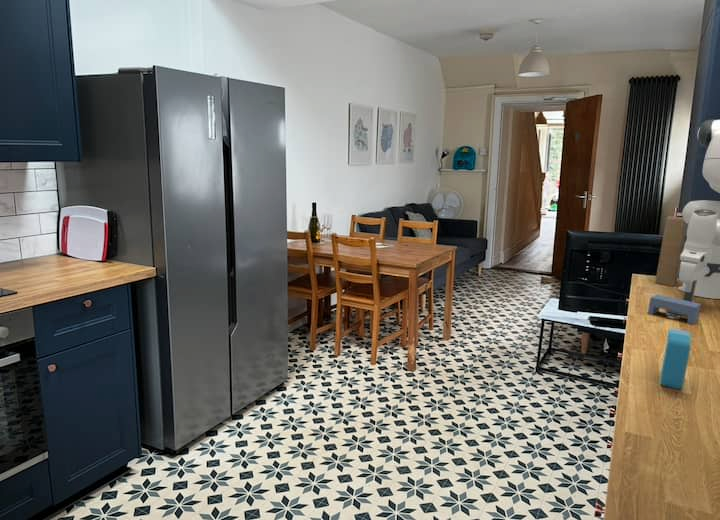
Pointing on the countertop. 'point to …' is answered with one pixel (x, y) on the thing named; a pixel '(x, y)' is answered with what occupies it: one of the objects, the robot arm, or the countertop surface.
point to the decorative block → (671, 251)
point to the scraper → (686, 298)
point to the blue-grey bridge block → (675, 307)
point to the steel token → (672, 316)
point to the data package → (676, 359)
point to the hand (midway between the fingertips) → (689, 291)
